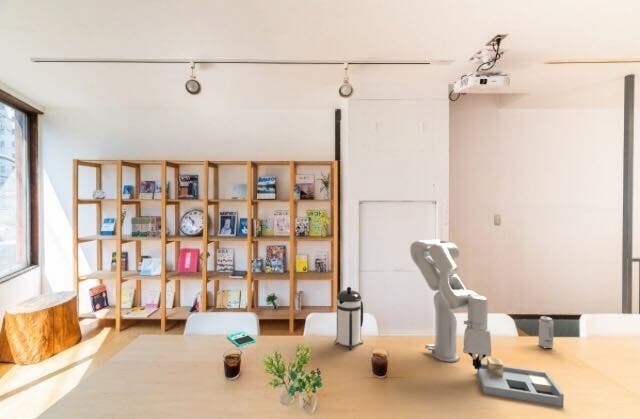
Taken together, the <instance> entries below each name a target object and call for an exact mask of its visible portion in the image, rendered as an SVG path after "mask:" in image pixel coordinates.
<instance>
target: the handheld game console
mask: <svg viewBox="0 0 640 419" xmlns="http://www.w3.org/2000/svg"><path fill="white" fill-rule="evenodd" d="M227 339H228V340H230V341H231V342H232V343H234V344H235V345H236V346H239V347H238V348H241V347H244V346H243V345H245V346H247V345H246V344H248V345H250V344H249V343H251V344H253V343H252V342H254V343H256V342H257V340H256V339H255V338H253V337H252V336H250V335H249V334H247V333H246V332H245V331H239V332H235V333H231V334H229V335H228V336H227ZM240 346H241V347H240Z"/></svg>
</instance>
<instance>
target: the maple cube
mask: <svg viewBox="0 0 640 419" xmlns="http://www.w3.org/2000/svg"><path fill="white" fill-rule="evenodd" d="M486 364H487V370H488V373H489V375H493V376H499V377H503V366H504V364H503V362H502V360H501V358H496V357H495V358H493V357H489V356H487V357H486Z"/></svg>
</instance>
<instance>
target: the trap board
mask: <svg viewBox="0 0 640 419" xmlns="http://www.w3.org/2000/svg"><path fill="white" fill-rule="evenodd" d="M476 373H477V376H478V379H479V382H480V384H481V385H480V386H481V388H482V391H483V393H484V394H485V395H490V396H497V397H502V398H503V397H504V398H508V399H509V398H510V399H515V400H522V401H528V402H535V403H540V404H545V405H552V406H556V407H557V406H558V407H564V400H565V399H564V396H565V395H564V392H563V391H562V390H561V389H560V387H559V386H558V384H557V383H556V382H555V381H554V380H553V378H552V377H551V376H550V374H549V373H548V372H547V371H543V370H536V369H534V370H533V369H527V368H521V367H512V366H506V365H503V377H499V376H493V375H489V373H488V370H487V362H486V363H485V362H481V367H479V370H478V369H476Z"/></svg>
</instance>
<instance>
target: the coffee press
mask: <svg viewBox="0 0 640 419" xmlns="http://www.w3.org/2000/svg"><path fill="white" fill-rule="evenodd" d="M336 300H337V301H336V302H337V303H336V338H335V340H334V342H333V344H334V345H335V346H337V345H338V344H340V345H343V346H347V347H348V350H349V351H353V346H356V345H358V344H360V345H363V344H364V341H363V339H362V333H361V331H362V327H363V322H364V304H363V302H362V296H361V294H360V293H359V292H358V291H356V290H352V288H351V286H347V288H346V290H341V291H339V292H338V293H337V295H336ZM336 342H337V343H336Z"/></svg>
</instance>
